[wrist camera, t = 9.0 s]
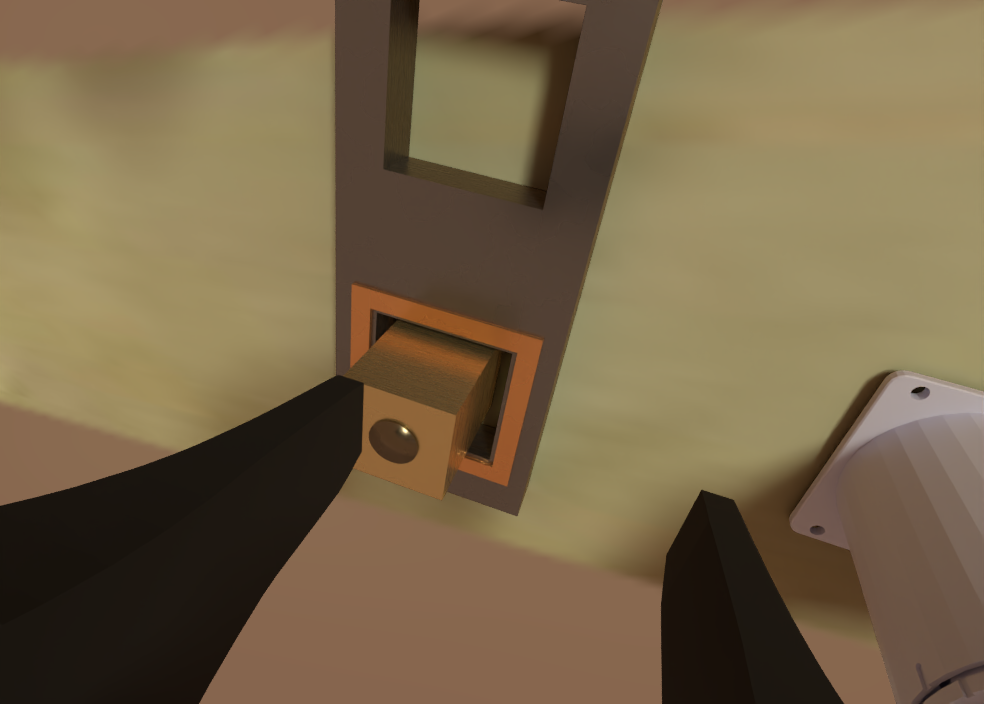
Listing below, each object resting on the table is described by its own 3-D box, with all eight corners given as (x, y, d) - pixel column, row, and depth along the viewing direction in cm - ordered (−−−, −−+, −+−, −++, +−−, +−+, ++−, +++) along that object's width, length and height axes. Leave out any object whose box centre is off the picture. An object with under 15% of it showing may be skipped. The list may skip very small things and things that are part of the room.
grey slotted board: (692, -107, 14) (692, -125, 12) (527, 485, 26) (516, 519, 24) (372, -155, 16) (331, -177, 14) (357, 426, 28) (334, 454, 26)
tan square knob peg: (507, 327, 22) (454, 417, 17) (492, 403, 24) (441, 502, 19) (416, 300, 23) (340, 378, 18) (409, 376, 25) (339, 465, 20)
